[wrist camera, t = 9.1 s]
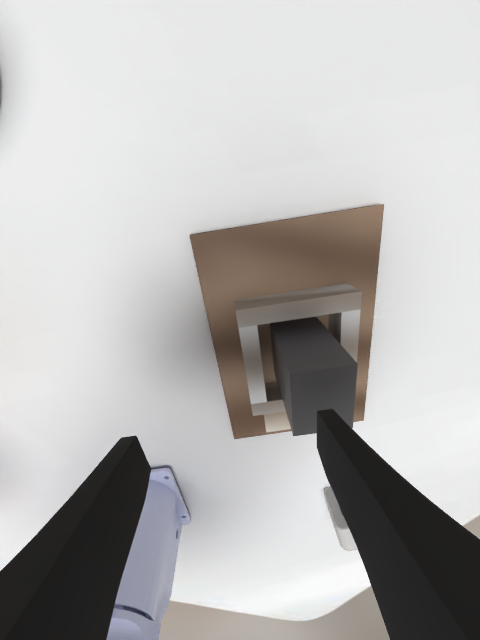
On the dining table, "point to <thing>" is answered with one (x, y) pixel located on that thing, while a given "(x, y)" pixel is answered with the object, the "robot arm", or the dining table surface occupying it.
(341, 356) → the plug
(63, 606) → the robot arm
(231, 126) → the dining table surface
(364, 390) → the socket dock
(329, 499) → the usb wall charger
